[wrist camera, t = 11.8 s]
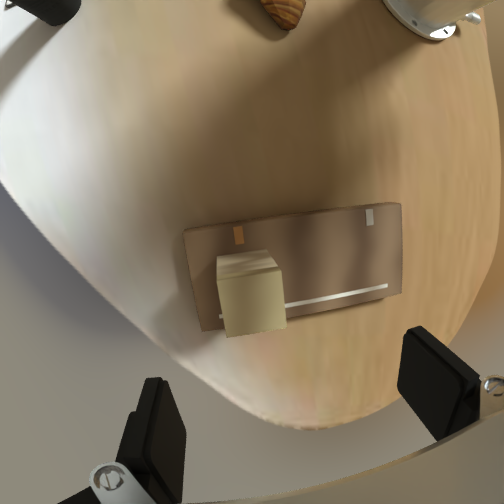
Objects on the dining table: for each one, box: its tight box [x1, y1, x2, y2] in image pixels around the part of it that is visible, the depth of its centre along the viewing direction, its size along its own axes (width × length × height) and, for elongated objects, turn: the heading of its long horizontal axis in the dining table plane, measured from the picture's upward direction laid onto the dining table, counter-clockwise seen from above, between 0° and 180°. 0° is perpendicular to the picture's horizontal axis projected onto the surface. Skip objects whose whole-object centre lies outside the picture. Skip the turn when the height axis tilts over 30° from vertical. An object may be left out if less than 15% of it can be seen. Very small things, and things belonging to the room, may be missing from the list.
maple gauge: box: [217, 249, 287, 338], centre depth 26 cm, size 5×5×7 cm
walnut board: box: [183, 202, 403, 331], centre depth 30 cm, size 22×10×2 cm, turn 98°
